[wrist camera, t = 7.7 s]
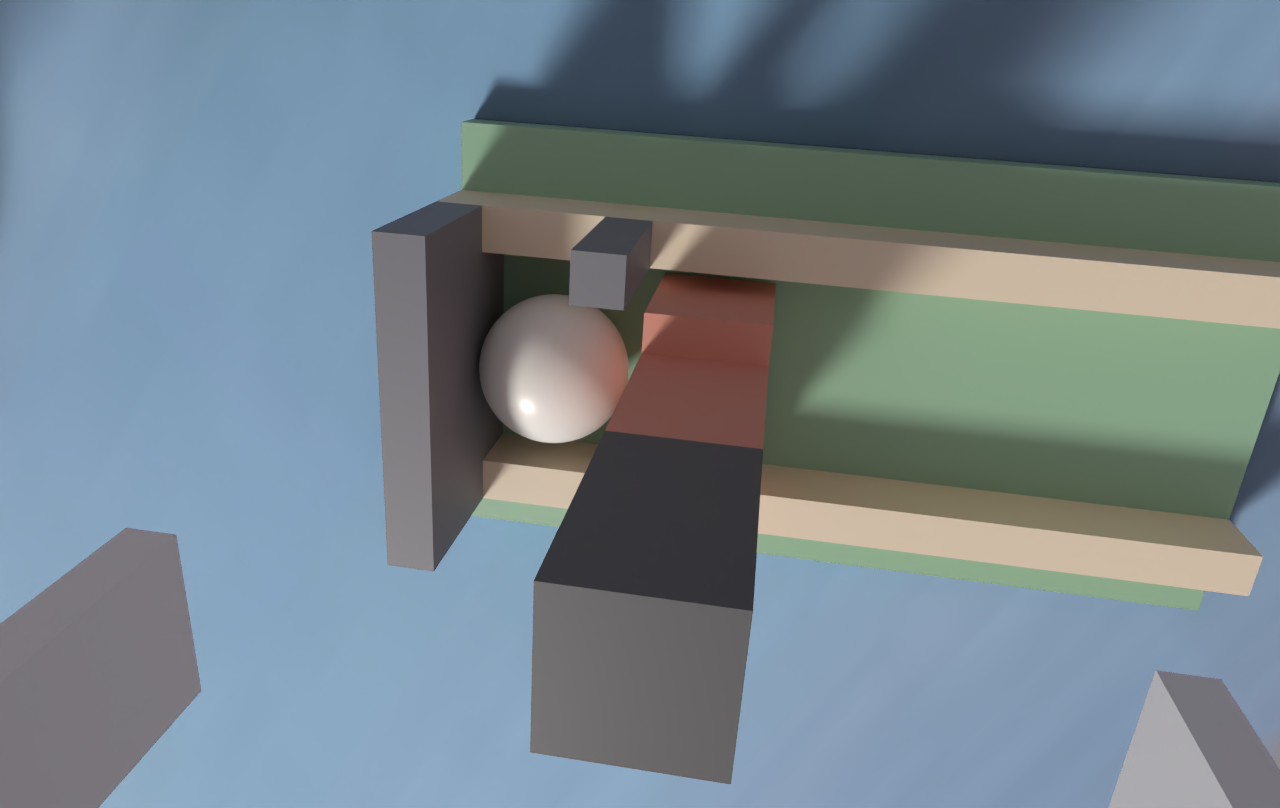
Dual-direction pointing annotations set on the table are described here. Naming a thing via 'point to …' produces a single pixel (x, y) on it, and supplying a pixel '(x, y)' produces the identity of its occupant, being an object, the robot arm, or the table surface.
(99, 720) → the robot arm
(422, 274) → the pitch
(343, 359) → the table surface
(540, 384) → the ball
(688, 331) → the black and red block
